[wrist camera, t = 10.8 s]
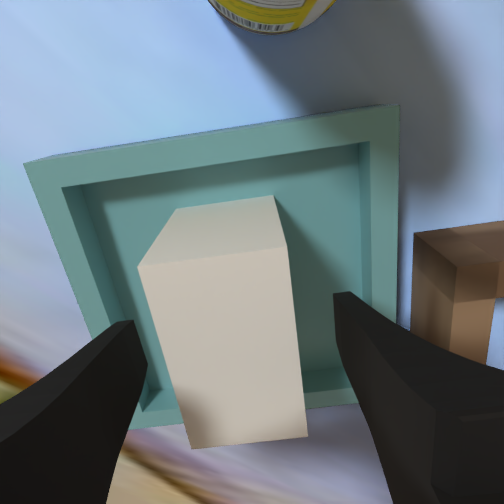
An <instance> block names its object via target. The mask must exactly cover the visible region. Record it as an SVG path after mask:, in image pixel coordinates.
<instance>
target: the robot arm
mask: <svg viewBox="0 0 504 504" xmlns="http://www.w3.org/2000/svg"><path fill="white" fill-rule="evenodd" d="M333 306H334V321H335V337H336V344H337V347H338V351H339V354H340V358H341V361H342V364H343V367H344V370H345V372H346V374H347V377H348V379H349V381H350V384H351V386H352V388H353V391H354V393H355V395H356V398H357V400H358V402H359V404H360V407H361V409H362V411H363V414H364V416H365V418H366V421H367V423H368V426H369V428H370V431H371V434H372V437H373V440H374V443H375V446H376V449H377V452H378V455H379V458H380V462H381V465H382V468H383V471H384V475H385V478H386V481H387V484H388V488H389V491H390V494H391V497H392V501H393V504H504V371H503V370H500V369H497V368H494V367H491V366H487V365H484V364H482V363H479V362H476V361H473V360H470V359H468V358H465V357H462V356H460V355H457V354H455V353H452V352H450V351H448V350H445V349H443V348H441V347H438V346H436V345H434V344H432V343H430V342H428V341H426V340H424V339H422V338H420V337H418V336H416V335H414V334H413V333H411V332H409V331H407V330H406V329H404V328H402V327H401V326H399V325H397V324H396V323H394V322H393V321H391V320H389V319H388V318H386V317H385V316H383V315H382V314H381V313H379V312H378V311H376V310H375V309H374V308H372V307H371V306H369V305H368V304H367V303H365V302H364V301H363V300H361V299H360V298H359V297H357V296H356V295H355V294H353V293H352V292H351V291H347V292H340V293H333ZM147 367H148V362H147V359H146V356H145V353H144V350H143V347H142V344H141V341H140V338H139V335H138V332H137V329H136V326H135V323H134V320H125V321H118V322H116V323H114V324H113V325H111V326H110V327H108V328H107V329H106V330H104V331H103V332H102V333H101V334H99V335H98V336H97V337H96V338H94V339H93V340H92V341H91V342H89V343H88V344H87V345H86V346H84V347H83V348H82V349H81V350H79V351H78V352H77V353H75V354H74V355H73V356H72V357H70V358H69V359H68V360H66V361H65V362H64V363H62V364H61V365H60V366H58V367H57V368H56V369H54V370H53V371H51V372H50V373H49V374H47V375H46V376H45V377H43V378H42V379H40V380H39V381H37V382H36V383H34V384H33V385H31V386H30V387H28V388H27V389H25V390H23V391H22V392H20V393H19V394H17V395H15V396H14V397H12V398H11V399H9V400H7V401H5V402H3V403H2V404H0V504H106V501H107V497H108V493H109V488H110V485H111V481H112V477H113V474H114V470H115V466H116V462H117V459H118V456H119V453H120V450H121V447H122V445H123V442H124V439H125V437H126V434H127V431H128V429H129V426H130V423H131V421H132V418H133V415H134V413H135V410H136V407H137V404H138V402H139V399H140V396H141V393H142V390H143V386H144V382H145V377H146V372H147Z"/></svg>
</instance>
